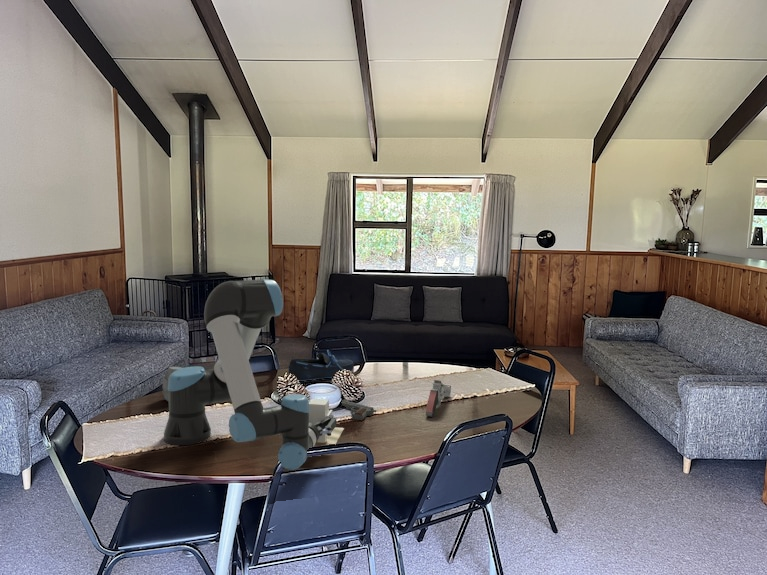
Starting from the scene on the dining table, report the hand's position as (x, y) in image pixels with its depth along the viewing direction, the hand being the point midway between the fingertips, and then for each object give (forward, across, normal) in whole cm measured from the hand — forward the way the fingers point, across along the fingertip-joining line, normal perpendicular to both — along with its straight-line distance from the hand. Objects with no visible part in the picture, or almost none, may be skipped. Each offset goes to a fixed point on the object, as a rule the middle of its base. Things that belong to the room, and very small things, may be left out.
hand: (321, 413), depth 194 cm
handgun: (+30, +5, -10) cm, 33 cm away
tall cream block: (-5, 0, -7) cm, 9 cm away
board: (-1, 0, -9) cm, 9 cm away
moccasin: (+80, -18, -10) cm, 83 cm away
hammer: (+44, -57, -10) cm, 73 cm away
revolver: (+44, +39, -10) cm, 59 cm away
